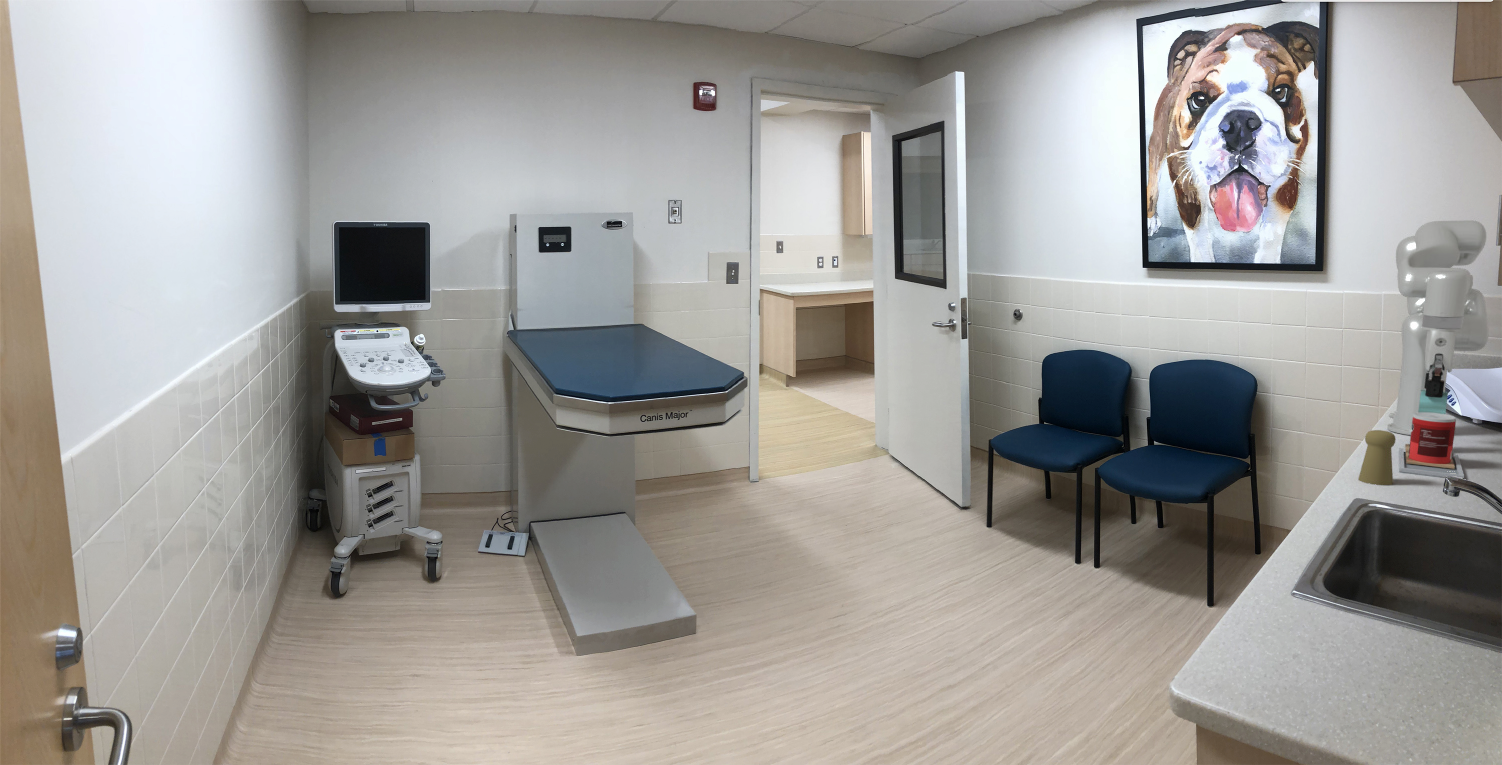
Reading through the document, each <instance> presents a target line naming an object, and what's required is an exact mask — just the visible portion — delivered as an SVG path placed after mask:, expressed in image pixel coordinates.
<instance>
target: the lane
mask: <svg viewBox="0 0 1502 765" xmlns="http://www.w3.org/2000/svg"><path fill="white" fill-rule="evenodd" d="M1452 459H1453V462H1454V466H1455V467H1454V469H1452V468H1443V467H1432V466H1424V465H1417V464H1409V463H1406V451H1404V448H1398V469H1399V472H1398V473H1403V474H1410V475H1411V474H1412V475H1419V476H1428V477H1437V478H1443V476H1444V478H1445V477H1446V476H1457V477H1462V478H1464V479H1465V474H1464V470H1463V467H1462V465H1461V464H1462V463H1461V461H1460V457H1459V454H1453V455H1452ZM1447 471H1448V472H1447ZM1449 471H1451V472H1449ZM1452 471H1453V472H1452ZM1454 471H1455V472H1454ZM1450 473H1456V474H1450Z"/></svg>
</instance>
